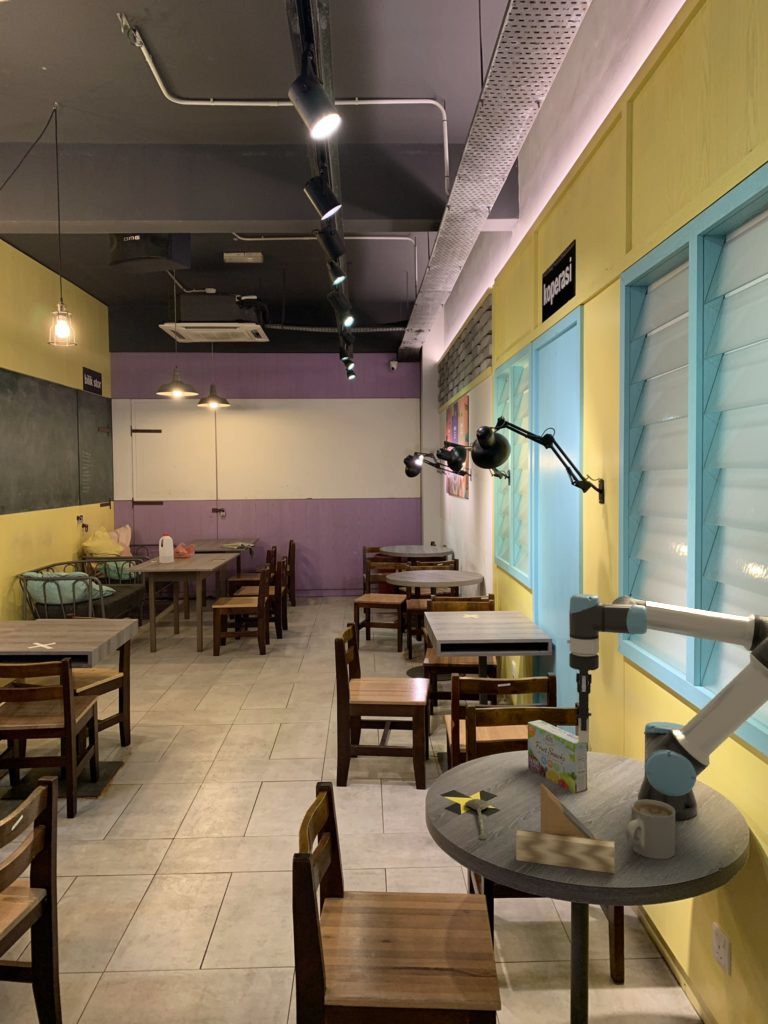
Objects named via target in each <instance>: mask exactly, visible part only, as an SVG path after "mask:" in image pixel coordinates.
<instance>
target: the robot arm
mask: <svg viewBox="0 0 768 1024" xmlns="http://www.w3.org/2000/svg"><path fill="white" fill-rule="evenodd" d="M568 611H569V612H568V614H569V616H568V617H569V619H568V621H569V623H568V625H569V628H568V629H569V639H567V641H566V643H567V644H569V657H568V661H569V662H568V663H569V664H568V665H569V667H570V668H571V669H573V670H578V671H579V672H577V673H576V675H575V682H576V691H577V693H578V714H576V715H575V718H576V719H578V722H577V723H578V727H577V728H578V735H577V736H578V742H586V743H587V744H589V743H590V717H592V712H589V711H590V708H589V703H590V702H589V701H590V700H589V699H590V697H589V695H590V694H591V687H592V686H591V685H592V681H593V680H592V675H593V674H592V673H589V671H596V670H597V669H599V667H600V663H599V662H600V661H599V660H600V657H599V656H600V655H599V654H598V653H600V635H599V634H600V633H615V634H628V635H644V634H646V633H647V632H648V630H652V631H658V632H663V633H670V634H674V635H680V636H684V637H685V636H686V637H692V638H696V639H698V638H699V639H702V640H703V639H704V640H709V641H714V642H715V641H716V642H718V643H719V642H720V643H725V644H730V645H737V646H742V647H743V648H744V649H745V650H746V651H749V652H750V653H749V660H750V661H749V663H747V665H746V666H745V667H744V668H743V669H742V670H741V671H740V672H739V673H738V674H737V675H735V676H734V678H732V679H731V681H729V683H727V684H726V685H725V686H724V687H723V688H721V690H720V691H719V692H718V693H717V694H715V696H714V697H713V698H712V699H710V700H709V701H708V703H707V704H705V706H703V708H701V709H700V710H699V712H697V714H695V715H694V716H693V717H692V718H691V719H690V720H688V722H687V723H686V724H685V725H684V724H679V723H674V722H669V721H668V722H666V721H650V722H647V723H646V724H645V726H644V732H643V734H644V765H643V767H644V777H643V781H642V783H641V786H640V788H639V791H638V794H637V801H638V800H645V799H647V800H656V801H661V802H664V803H666V804H669V805H670V806H672V807H673V808H674V809H675V821H677V820H681V821H682V820H688V819H691V818H693V817H695V816H696V815H697V814H698V803H697V800H696V797H695V794H694V792H693V788H694V786H695V784H696V783H697V777H698V776H699V775H700V774H701V773H702V772H703V771H705V769H707V768H708V766H709V765H710V755H711V754H712V753H713V752H714V751H716V750H717V749H718V748H719V746H721V745H722V744H723V743H724V742H725V741H727V739H729V738H730V736H731V735H733V734H734V733H735V732H736V731H738V729H739V728H740V727H741V726H742V725H743V724H745V722H747V720H749V719H750V717H752V716H753V715H754V714H755V713H756V712H757V711H758V710H759V709H760V708H761V707H762V706H764V704H766V703H767V702H768V616H767V615H760V614H753V613H751V614H749V615H748V616H742V615H736V614H729V613H722V612H717V611H716V612H715V611H712V610H711V611H710V610H704V609H697V608H691V607H686V606H680V605H679V606H678V605H673V604H666V603H661V602H654V601H649V600H644V599H643V600H642V599H637V598H634V597H632V596H629V595H622V596H618V597H616V599H614V600H613V602H612V603H605V602H601V601H600V597H599V596H598V595H596V594H589V593H576V594H574V595H573V594H572V596H571V597H570V599H569V610H568ZM599 632H600V633H599Z"/></svg>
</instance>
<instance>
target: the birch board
mask: <svg viewBox="0 0 768 1024" xmlns="http://www.w3.org/2000/svg"><path fill="white" fill-rule="evenodd" d="M515 830H516V832H515V835H516V836H515V839H516V840H515V842H516V843H515V845H516V846H515V848H516V849H515V852H516V853H515V857H516V858H515V859H516V860H515V861H520V862H528V863H534V864H535V863H536V864H543V865H550V866H557V867H565V868H571V869H578V870H579V869H580V870H587V871H594V872H601V873H609V874H615V846H616V841H614V840H607V839H599V838H598V839H592V838H584V837H576V836H568V835H560V834H552V833H544V832H541V831H534V830H527V829H519V828H516V829H515Z"/></svg>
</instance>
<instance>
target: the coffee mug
mask: <svg viewBox="0 0 768 1024" xmlns="http://www.w3.org/2000/svg"><path fill="white" fill-rule="evenodd" d="M625 834H626V839H627V843H629V845H631V848H632V850H633V851H634V852H635V853H636V854H638V855H641V856H643V857H646V858H650V859H653V860H654V859H655V860H667V859H670V857H671V858H672V856H673V857H674V856H675V855H674V854H676V820H675V809H674V808H673V807H672V806H670V805H669V804H666V803H664V802H661V801H656V800H647V799H645V800H638V799H637V800H635V801H633V802H632V803H631V821H630V822H629V823H628V824H627V826H626V833H625Z"/></svg>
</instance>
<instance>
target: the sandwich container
mask: <svg viewBox="0 0 768 1024" xmlns="http://www.w3.org/2000/svg"><path fill="white" fill-rule="evenodd" d="M540 832H544V833H552V834H560V835H568V836H576V837H584V838H592V839H599V838H598V837H597V836H596V835H595V834H594V833H593V831H591V830H590V829H589V828H588V827H586V825H585V824H583V823H582V821H580V819H579V818H578V817H576V815H574V814H573V813H572V812H571V811H570V810H569V809H568V808H567V807H566V805H564V804H563V803H562V802H561V801H560V800H559V798H557V797H556V796H555V795H554V794H553V793H552V792H551V791H550V789H549V788H547V787H546V786H545V785H544V784H543V783H540Z"/></svg>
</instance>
